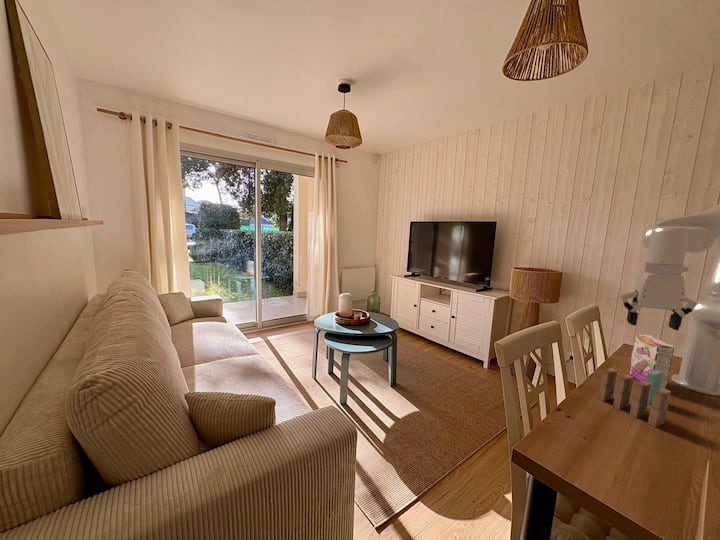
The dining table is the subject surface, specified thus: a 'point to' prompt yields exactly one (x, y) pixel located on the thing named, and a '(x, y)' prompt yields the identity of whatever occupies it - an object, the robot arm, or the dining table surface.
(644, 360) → the candy bar box
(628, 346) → the dining table surface
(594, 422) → the dining table surface
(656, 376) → the teal domino
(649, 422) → the domino
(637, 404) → the domino
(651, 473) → the dining table surface
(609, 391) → the domino
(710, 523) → the dining table surface
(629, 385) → the domino
